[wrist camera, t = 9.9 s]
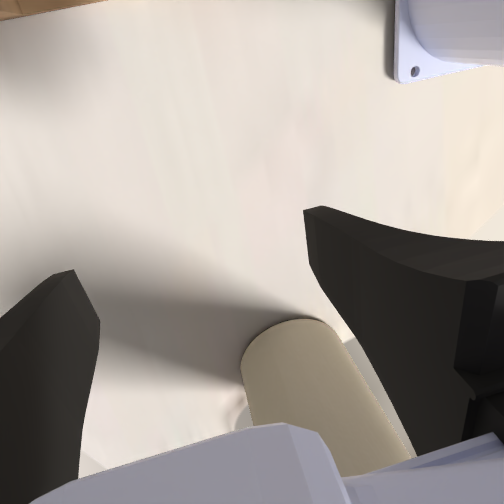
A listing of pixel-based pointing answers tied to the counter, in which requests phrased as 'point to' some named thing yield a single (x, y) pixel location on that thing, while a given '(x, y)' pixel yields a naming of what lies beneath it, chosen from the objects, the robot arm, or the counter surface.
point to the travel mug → (319, 394)
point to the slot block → (36, 7)
